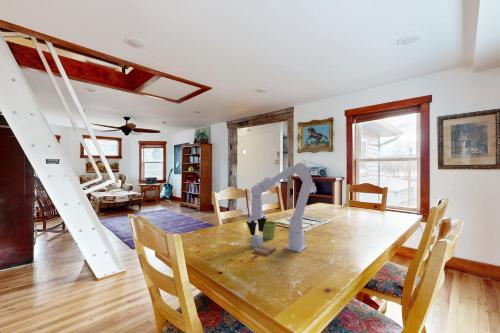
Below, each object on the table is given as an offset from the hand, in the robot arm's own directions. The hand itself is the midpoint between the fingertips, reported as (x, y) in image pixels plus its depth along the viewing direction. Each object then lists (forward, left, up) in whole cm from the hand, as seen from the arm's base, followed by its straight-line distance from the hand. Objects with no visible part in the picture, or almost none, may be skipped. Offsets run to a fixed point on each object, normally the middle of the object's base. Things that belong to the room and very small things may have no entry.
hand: (256, 233), depth 121 cm
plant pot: (-15, -2, -7) cm, 17 cm away
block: (0, 0, -7) cm, 7 cm away
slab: (+4, +8, -7) cm, 11 cm away
